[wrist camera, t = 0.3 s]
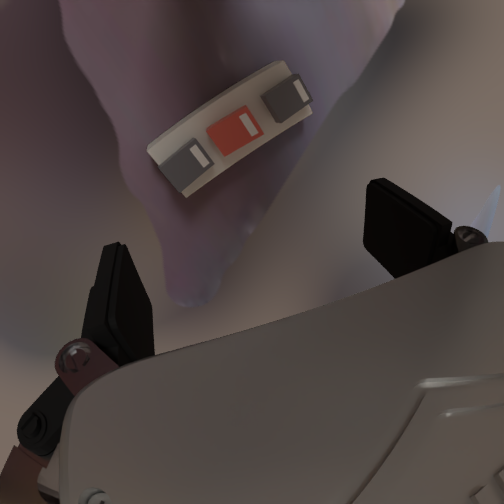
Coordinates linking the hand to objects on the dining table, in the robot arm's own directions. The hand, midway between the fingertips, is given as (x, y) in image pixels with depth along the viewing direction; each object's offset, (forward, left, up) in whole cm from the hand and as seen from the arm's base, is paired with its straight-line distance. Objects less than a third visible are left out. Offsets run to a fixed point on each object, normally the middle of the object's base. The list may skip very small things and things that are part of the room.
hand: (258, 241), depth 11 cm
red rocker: (+5, +4, -30) cm, 31 cm away
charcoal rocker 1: (+5, -4, -30) cm, 31 cm away
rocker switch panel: (+5, +4, -35) cm, 36 cm away
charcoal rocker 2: (+5, +12, -30) cm, 33 cm away
